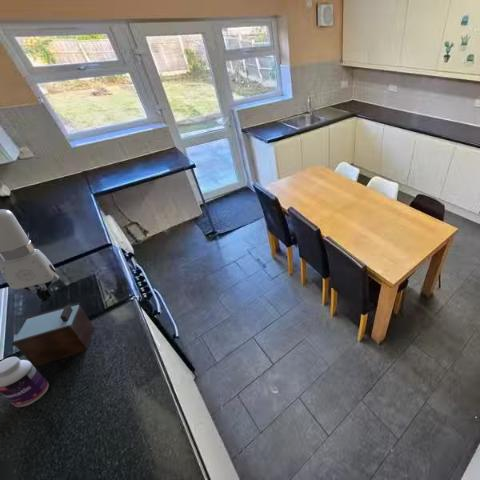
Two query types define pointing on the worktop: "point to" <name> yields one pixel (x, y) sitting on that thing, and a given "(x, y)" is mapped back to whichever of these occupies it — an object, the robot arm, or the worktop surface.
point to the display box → (58, 340)
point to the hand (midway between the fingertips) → (48, 298)
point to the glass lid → (47, 322)
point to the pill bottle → (21, 382)
